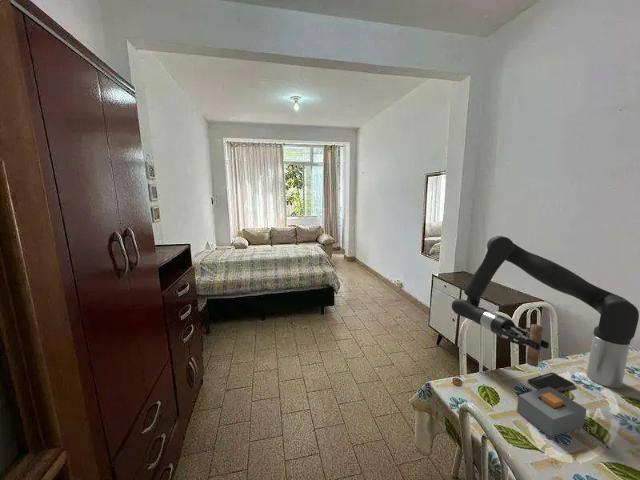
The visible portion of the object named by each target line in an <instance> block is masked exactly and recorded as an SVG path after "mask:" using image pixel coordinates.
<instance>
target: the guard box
mask: <svg viewBox="0 0 640 480" xmlns="http://www.w3.org/2000/svg"><path fill="white" fill-rule="evenodd" d="M549 392H550V393H552V394H553V395H555V396H557V397H558V398H560V399H561V400H563V402H562V408H558V409H553V408H552V407H550V406H549V405H547V404H546V403H544V402H543V401H541V395H542V394H545V393H549ZM517 397H518V398H517V406H516V412H517V414H519V415H520V416H522V417H523V418H525V419H526V420H527V421H528V422H529V423H531V424H532V425H534V426H535V427H536V428H537V429H539V430H540V431H541V432H543V433H544V434H545V435H546V436H547V437H549V438H551V439H552V438H554V437H557V436H560V435H564V434H565V433H569V432H572V431H574V430H578V429H581V428H583V427H584V425H585V419H586V414H587V408H586V407H584V406H582V405H581V404H579V403H578V402H575V401H574V400H573V399H571V398H569V397H568V396H566V395H565V394H563V393H562V392H560V393H559V392H558V391H556V390H555V389H553V388H551V387H546V388H543V389H539V390H538V389H536V390H531V391H527V392H524V393H521V394H518V396H517Z"/></svg>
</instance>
